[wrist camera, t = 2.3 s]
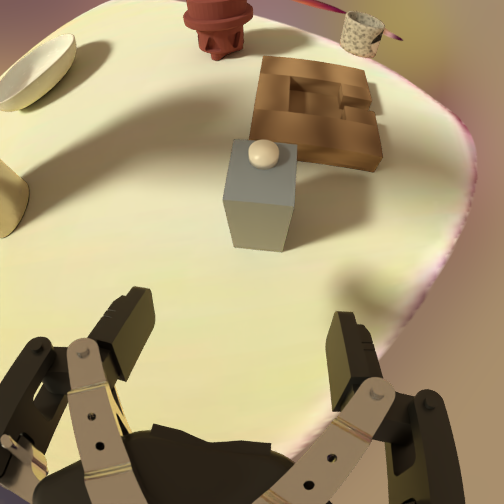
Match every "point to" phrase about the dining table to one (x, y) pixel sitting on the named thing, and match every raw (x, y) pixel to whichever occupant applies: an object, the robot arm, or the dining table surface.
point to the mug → (361, 34)
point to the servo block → (260, 193)
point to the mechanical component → (218, 24)
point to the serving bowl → (37, 73)
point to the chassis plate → (317, 112)
